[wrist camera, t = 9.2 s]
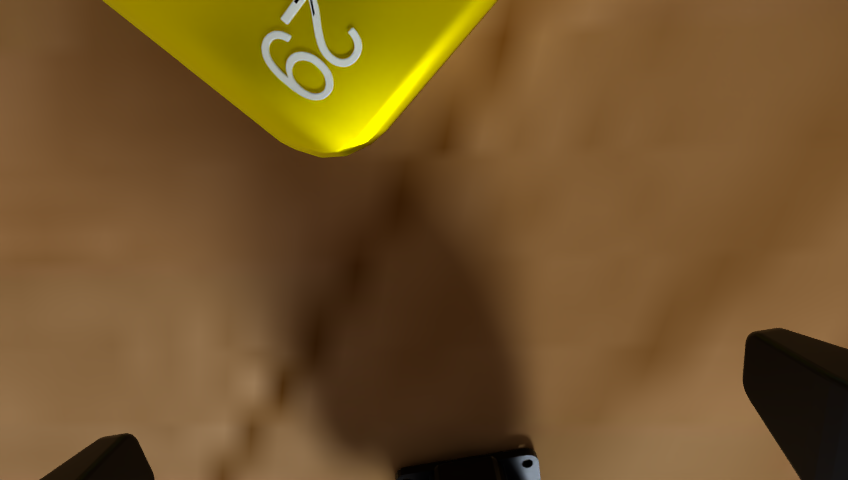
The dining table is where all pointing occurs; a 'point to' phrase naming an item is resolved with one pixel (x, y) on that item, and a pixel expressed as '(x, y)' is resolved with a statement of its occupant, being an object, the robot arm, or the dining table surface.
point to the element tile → (311, 59)
